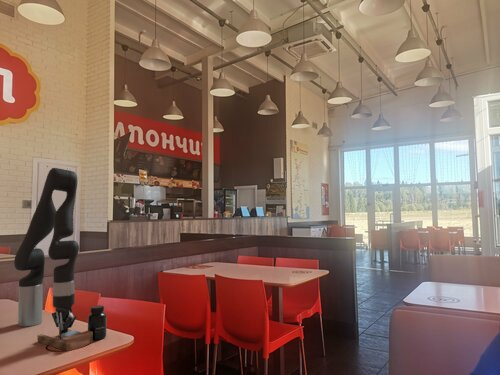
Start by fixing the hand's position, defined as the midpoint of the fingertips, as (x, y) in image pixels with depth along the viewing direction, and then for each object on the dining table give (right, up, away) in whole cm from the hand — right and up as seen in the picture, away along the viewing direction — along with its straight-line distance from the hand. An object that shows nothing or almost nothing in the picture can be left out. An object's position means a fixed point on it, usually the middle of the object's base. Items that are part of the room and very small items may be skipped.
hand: (63, 338), depth 140 cm
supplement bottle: (+11, -1, +3) cm, 12 cm away
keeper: (+4, -1, -3) cm, 5 cm away
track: (+1, -1, 0) cm, 1 cm away
